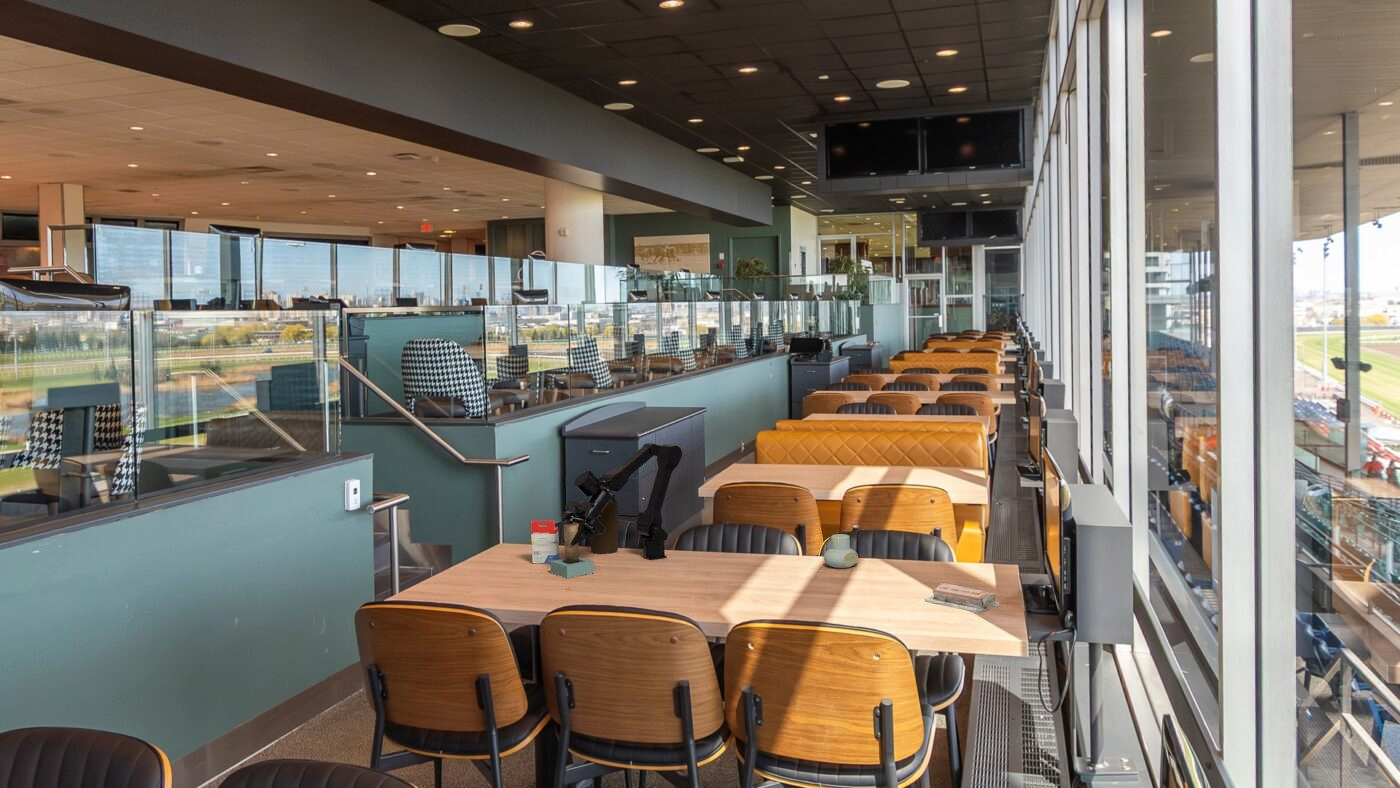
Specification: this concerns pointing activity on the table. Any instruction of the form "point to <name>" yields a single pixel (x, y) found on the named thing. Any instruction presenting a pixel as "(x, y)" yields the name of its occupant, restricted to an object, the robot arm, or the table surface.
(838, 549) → the pale green rounded piece
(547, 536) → the ink box
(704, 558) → the table surface
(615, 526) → the olive oil
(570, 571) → the socket block
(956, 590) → the packaged product
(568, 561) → the peg
